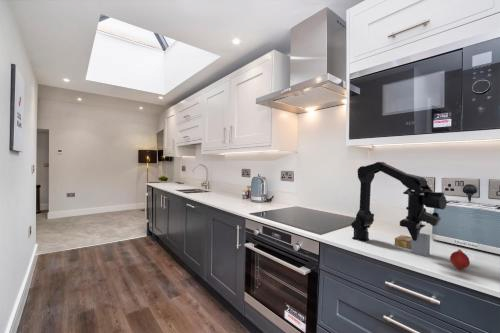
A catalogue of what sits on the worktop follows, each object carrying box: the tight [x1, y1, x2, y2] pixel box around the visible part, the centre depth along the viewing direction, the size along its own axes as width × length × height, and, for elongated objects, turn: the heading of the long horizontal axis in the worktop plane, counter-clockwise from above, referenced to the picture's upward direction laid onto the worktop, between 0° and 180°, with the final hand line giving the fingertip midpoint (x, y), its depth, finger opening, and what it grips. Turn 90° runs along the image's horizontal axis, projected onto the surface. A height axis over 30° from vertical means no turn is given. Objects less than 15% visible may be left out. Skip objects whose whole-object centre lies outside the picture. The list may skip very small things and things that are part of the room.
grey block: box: [410, 232, 431, 258], centre depth 110 cm, size 6×4×9 cm, turn 38°
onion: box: [449, 249, 471, 271], centre depth 94 cm, size 6×6×8 cm
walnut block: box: [394, 234, 412, 250], centre depth 121 cm, size 6×4×9 cm
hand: (414, 240), depth 105 cm, fingers closed
